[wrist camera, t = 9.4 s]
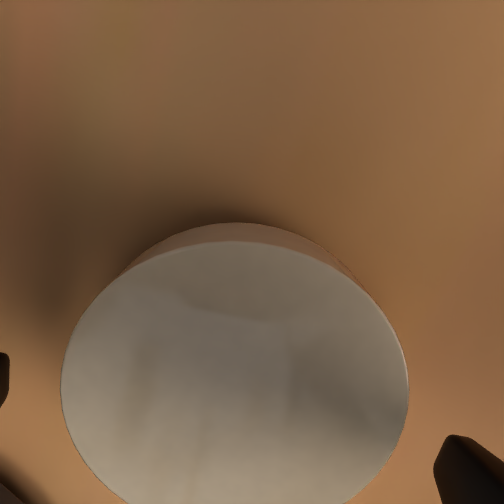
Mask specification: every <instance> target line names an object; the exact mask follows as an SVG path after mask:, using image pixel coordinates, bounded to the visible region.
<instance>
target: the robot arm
mask: <svg viewBox="0 0 504 504" xmlns="http://www.w3.org/2000/svg"><path fill="white" fill-rule="evenodd" d="M9 368H10V360H9V356H8V355H7V354H5V353H1V352H0V407H1V406H2V404H3V403H4V401H5V399H6V397H7V395H8V391H9ZM433 472H434V478H435V481H436V485H437V488H438V491H439V494H440V497H441V500H442V504H504V462H503V461H501V460H500V459H499V458H497V457H496V456H495V455H493V454H492V453H491V452H489V451H488V450H486V449H485V448H484V447H482V446H481V445H480V444H478V443H477V442H476V441H474V440H473V439H471V438H469V437H464V436H459V435H449V436H448V437H446V439H445V441H444V443H443V445H442V447H441V450H440V452H439V454H438V456H437V458H436V460H435V463H434V467H433Z"/></svg>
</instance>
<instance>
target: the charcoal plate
mask: <svg viewBox="0 0 504 504" xmlns="http://www.w3.org/2000/svg"><path fill="white" fill-rule="evenodd" d="M0 504H24V503H23V502H22V501H21V500H20V499H19V498H18V497H17V496H15V495H14V494H13V493H12V492H11V491H10V490H9V489H7V488H6V487H5V486H4V485H3V484H1V483H0Z"/></svg>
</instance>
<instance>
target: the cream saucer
mask: <svg viewBox="0 0 504 504" xmlns="http://www.w3.org/2000/svg"><path fill="white" fill-rule="evenodd" d="M60 395H61V404H62V411H63V415H64V419H65V423H66V426H67V429H68V432H69V434H70V436H71V439H72V441H73V443H74V446H75V447H76V449H77V451H78V452H79V454H80V456H81V457H82V459H83V461H84V462H85V463H86V465H87V466H88V467H89V468H90V470H91V471H92V472H93V473H94V475H95V476H96V477H97V478H98V479H99V480H100V481H101V482H102V483H103V484H104V485H105V486H106V487H107V488H108V489H109V490H110V491H112V492H113V493H114V494H116V495H117V496H118V497H119V498H121V499H122V500H123V501H125V502H126V503H128V504H345V503H346V502H348V501H349V500H350V499H352V498H353V497H354V496H355V495H357V494H358V493H359V492H360V491H362V490H363V489H364V488H365V487H366V486H367V485H368V484H369V483H370V482H371V481H372V480H373V479H374V478H375V477H376V476H377V474H378V473H379V472H380V470H381V469H382V468H383V466H384V465H385V464H386V462H387V461H388V459H389V458H390V456H391V454H392V452H393V451H394V449H395V447H396V445H397V443H398V440H399V438H400V435H401V433H402V430H403V428H404V424H405V419H406V415H407V410H408V400H409V379H408V368H407V364H406V360H405V356H404V352H403V349H402V346H401V344H400V341H399V339H398V337H397V334H396V332H395V330H394V328H393V327H392V325H391V323H390V322H389V320H388V318H387V317H386V315H385V314H384V312H383V311H382V309H381V308H380V307H379V306H378V304H377V303H376V302H375V301H374V299H373V298H372V297H371V296H370V294H369V293H368V292H367V291H366V289H365V288H364V287H363V286H362V284H361V283H360V282H359V281H358V280H357V278H356V277H355V276H354V275H353V274H352V273H351V271H350V270H349V269H348V268H347V267H346V266H345V265H344V264H343V263H342V262H341V261H339V260H338V259H337V258H336V257H335V256H334V255H333V254H331V253H330V252H328V251H327V250H325V249H324V248H322V247H321V246H319V245H318V244H316V243H314V242H312V241H310V240H308V239H306V238H304V237H302V236H300V235H298V234H295V233H292V232H289V231H286V230H283V229H280V228H276V227H271V226H266V225H261V224H252V223H221V224H212V225H207V226H202V227H197V228H193V229H190V230H187V231H184V232H181V233H178V234H175V235H173V236H171V237H169V238H167V239H165V240H163V241H161V242H159V243H157V244H155V245H154V246H152V247H151V248H149V249H148V250H146V251H145V252H143V253H142V254H140V255H139V256H138V257H137V258H136V259H135V260H134V261H133V262H132V263H131V264H129V265H128V266H127V267H126V268H125V269H124V270H123V271H122V272H121V273H120V274H119V275H118V276H117V277H116V278H115V279H114V280H113V281H112V282H111V283H110V284H109V285H108V286H106V287H105V288H104V289H103V290H102V291H101V292H100V293H99V294H98V295H97V296H96V298H95V299H94V300H93V301H92V303H91V304H90V305H89V306H88V308H87V309H86V310H85V311H84V312H83V314H82V316H81V318H80V319H79V321H78V323H77V324H76V326H75V328H74V330H73V332H72V334H71V337H70V339H69V342H68V345H67V347H66V350H65V354H64V359H63V364H62V368H61V381H60Z"/></svg>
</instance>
